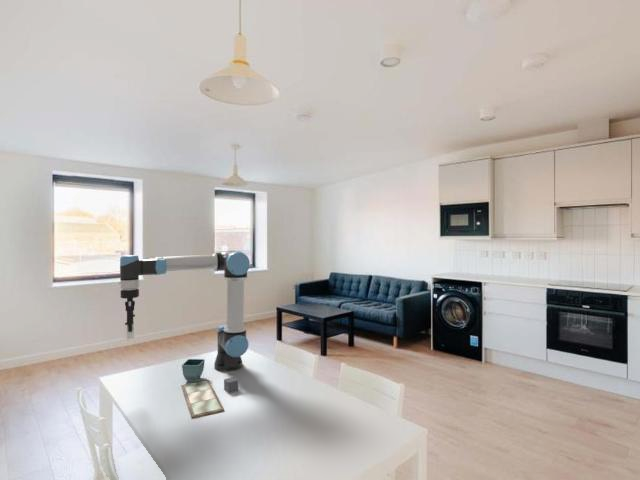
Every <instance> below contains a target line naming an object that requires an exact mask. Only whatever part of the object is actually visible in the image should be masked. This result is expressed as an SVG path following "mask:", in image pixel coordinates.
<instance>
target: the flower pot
mask: <svg viewBox="0 0 640 480" xmlns="http://www.w3.org/2000/svg"><path fill="white" fill-rule="evenodd" d="M204 368H205V358H204V359H202V358H201V359H200V358H199V359H198V358H188V359H187V360H186V361H184V362H183V364H181V370H182V375H183V378H184V380H185V381H186V382H198V381H199V379H200V378H201V376H202V375H203V372H204V370H205V369H204Z"/></svg>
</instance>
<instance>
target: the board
mask: <svg viewBox="0 0 640 480" xmlns="http://www.w3.org/2000/svg"><path fill="white" fill-rule="evenodd" d="M181 390H182V392H183V395H184V399H185V402H186V405H187V409H188V412H189V414H190V418H191V419H195V418H200V417H203V416H209V415H212V414H218V413H222V412H225V409H224V406H223V405H222V402H221V400H220V398H219V396H218V395H217V393H216V391H215V389H214V387H213V385H212V383H211V381H210V380H202V381H195V382H191V383H187V384H181Z"/></svg>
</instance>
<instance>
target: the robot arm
mask: <svg viewBox="0 0 640 480" xmlns="http://www.w3.org/2000/svg"><path fill="white" fill-rule="evenodd" d="M119 262H120V263H119V271H120V272H119V274H120V277H119V278H120V281H119V282H118V284H119V285H120V289H121V290H120V299H123V300H124V299H126V301H124V306H125V312H126V322H125V324H124V326H126V340H132V339H134V335H135V334H134V331H135V329H134V328H135V327H134V326H135V325H134V318H135V317H136V314H135V313H134V311H135V304H136V300H134V299H135V298H138V297H140V289H139V288H140V279H139V278H140V276H152V275H154V276H155V275H165V274H167V272H176V271H196V270H212V269H213V270H214V271H223V273H224V275H223V276H224V278H225V280H226V285H227V287H226V288H227V289H226V324H223V325H219V326H218V327H217V332H216V335H217V353H216V354H217V355H216V357H215V361H214V366H213V367H214V369H215V370H216V371H220V372H231V371H236V370H239V369H241V368H242V366H243V359H242V356H243V355H244V354H245V353H247V351H248V349H249V340H248V338H247V327H245V326H244V313H245V311H244V309H245V306H244V305H245V280H246V279H247V278H248V271H249V269H250V267H251V266H250V265H251V261H250V258H249V257H248V256H247V255H246V253H244V252H242V251H239V250H237V251H236V250H227V251H221V252H219V251H218V252H214V253H213V254H200V255H199V254H198V255H197V254H196V255H176V256H175V255H173V256H149V257H146V258H143V259H142V258H139V255H137V254H126V255H122V256H120V259H119Z"/></svg>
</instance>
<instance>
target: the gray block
mask: <svg viewBox="0 0 640 480" xmlns="http://www.w3.org/2000/svg"><path fill="white" fill-rule="evenodd" d="M223 390H224V391H225V392H226V393H227V394H231V393H235V392H238V391H239V379H238V378H237V377H235V376H232V377H229V378H224V379H223Z"/></svg>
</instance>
